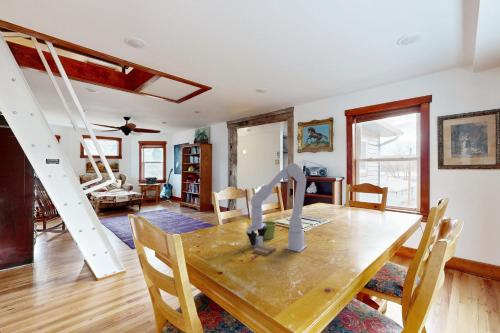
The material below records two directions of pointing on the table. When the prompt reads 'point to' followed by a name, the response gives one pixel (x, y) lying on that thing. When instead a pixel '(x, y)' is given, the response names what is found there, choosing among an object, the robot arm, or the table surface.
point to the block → (258, 241)
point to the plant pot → (269, 229)
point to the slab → (264, 250)
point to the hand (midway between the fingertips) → (256, 243)
